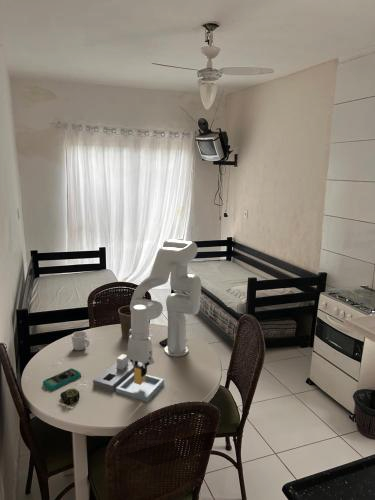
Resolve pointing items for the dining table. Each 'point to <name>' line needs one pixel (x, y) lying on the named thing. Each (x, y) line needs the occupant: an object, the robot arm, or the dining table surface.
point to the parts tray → (140, 387)
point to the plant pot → (125, 321)
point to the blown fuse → (138, 374)
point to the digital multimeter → (61, 379)
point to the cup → (80, 340)
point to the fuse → (122, 362)
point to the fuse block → (113, 377)
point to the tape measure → (70, 396)
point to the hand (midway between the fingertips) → (140, 373)
